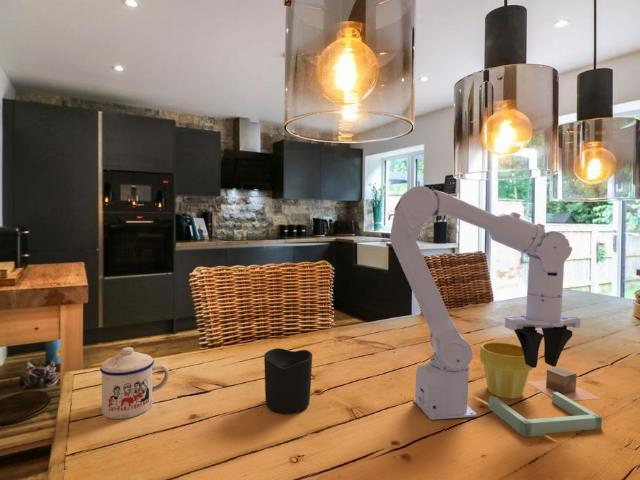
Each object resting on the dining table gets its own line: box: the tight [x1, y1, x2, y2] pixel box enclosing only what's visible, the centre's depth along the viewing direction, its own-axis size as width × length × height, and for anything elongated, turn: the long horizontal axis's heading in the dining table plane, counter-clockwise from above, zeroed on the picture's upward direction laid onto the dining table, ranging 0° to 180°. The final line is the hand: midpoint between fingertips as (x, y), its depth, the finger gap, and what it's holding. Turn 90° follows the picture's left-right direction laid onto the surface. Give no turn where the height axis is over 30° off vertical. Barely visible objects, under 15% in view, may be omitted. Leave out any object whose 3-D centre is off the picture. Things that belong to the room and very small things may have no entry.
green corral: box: [488, 392, 603, 438], centre depth 73 cm, size 15×10×2 cm, turn 100°
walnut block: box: [545, 366, 577, 395], centre depth 85 cm, size 4×4×4 cm
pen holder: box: [263, 347, 313, 415], centre depth 76 cm, size 9×9×10 cm
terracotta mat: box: [525, 379, 601, 402], centre depth 85 cm, size 10×10×1 cm
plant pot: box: [479, 341, 534, 400], centre depth 84 cm, size 10×10×10 cm
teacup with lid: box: [99, 346, 170, 420], centre depth 74 cm, size 12×9×12 cm
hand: (540, 365), depth 73 cm, fingers open, 4 cm apart
